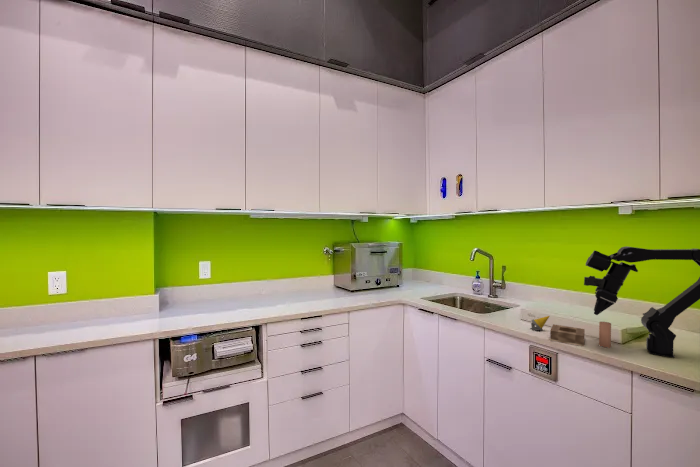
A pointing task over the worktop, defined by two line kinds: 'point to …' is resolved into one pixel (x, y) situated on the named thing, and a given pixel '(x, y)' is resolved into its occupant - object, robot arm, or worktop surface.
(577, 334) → the hole block
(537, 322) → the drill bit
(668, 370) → the worktop surface
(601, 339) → the peg
